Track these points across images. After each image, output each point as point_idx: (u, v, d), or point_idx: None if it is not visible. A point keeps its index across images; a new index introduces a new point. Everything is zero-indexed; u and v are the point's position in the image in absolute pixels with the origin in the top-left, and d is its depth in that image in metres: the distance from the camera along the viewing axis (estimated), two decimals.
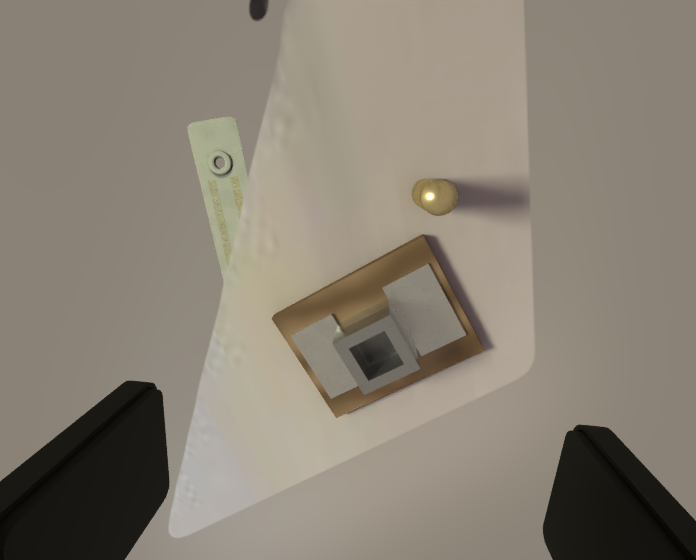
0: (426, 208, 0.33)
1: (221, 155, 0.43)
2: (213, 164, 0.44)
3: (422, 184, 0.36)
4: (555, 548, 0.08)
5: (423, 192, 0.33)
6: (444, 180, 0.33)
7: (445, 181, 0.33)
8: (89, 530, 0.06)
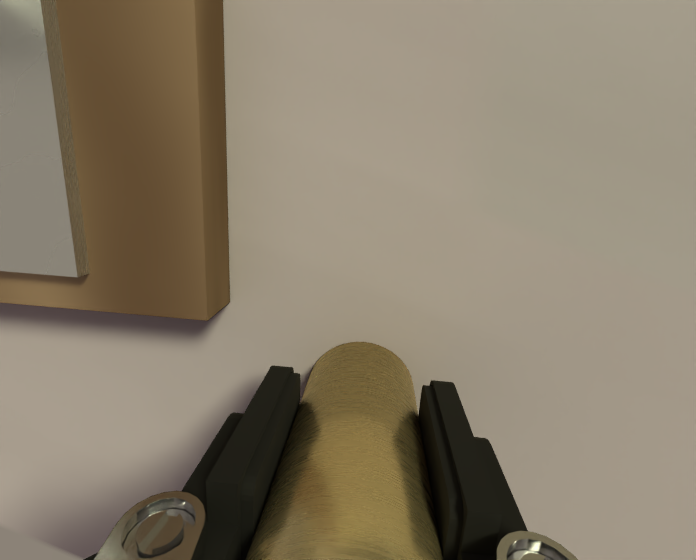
0: None
1: None
2: None
3: None
4: None
5: None
6: None
7: None
8: None
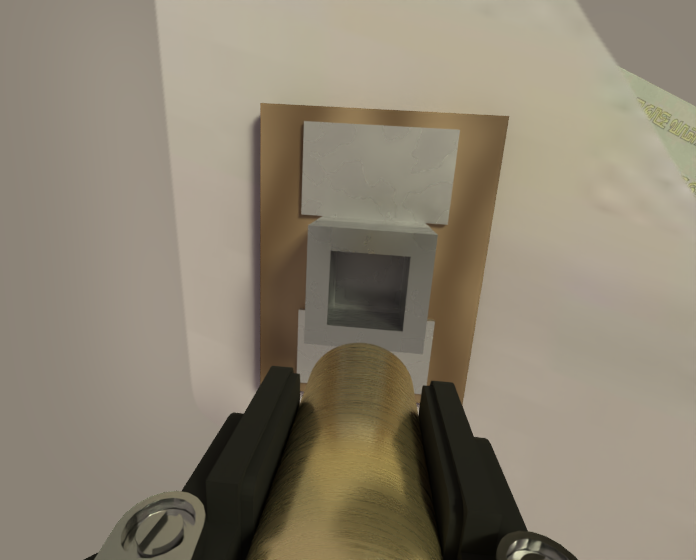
0: None
1: None
2: None
3: None
4: None
5: None
6: None
7: None
8: None
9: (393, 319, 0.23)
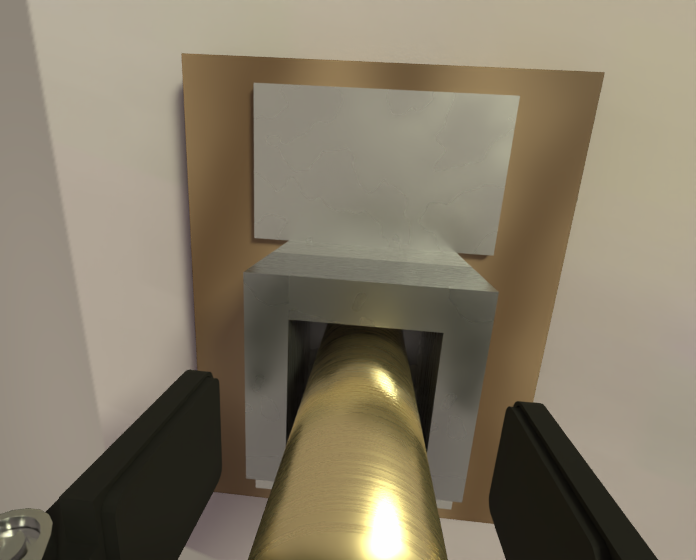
0: (331, 541, 0.05)
1: None
2: None
3: (425, 448, 0.08)
4: (496, 515, 0.09)
5: None
6: None
7: None
8: (168, 503, 0.07)
9: None
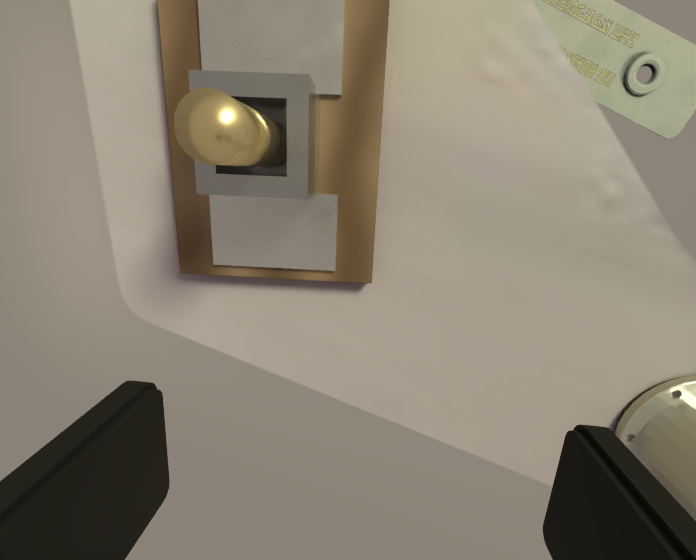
0: (201, 91, 0.16)
1: (651, 84, 0.27)
2: (651, 62, 0.27)
3: (262, 125, 0.20)
4: (555, 548, 0.08)
5: (233, 103, 0.16)
6: (234, 152, 0.17)
7: (231, 153, 0.17)
8: (89, 530, 0.06)
9: None
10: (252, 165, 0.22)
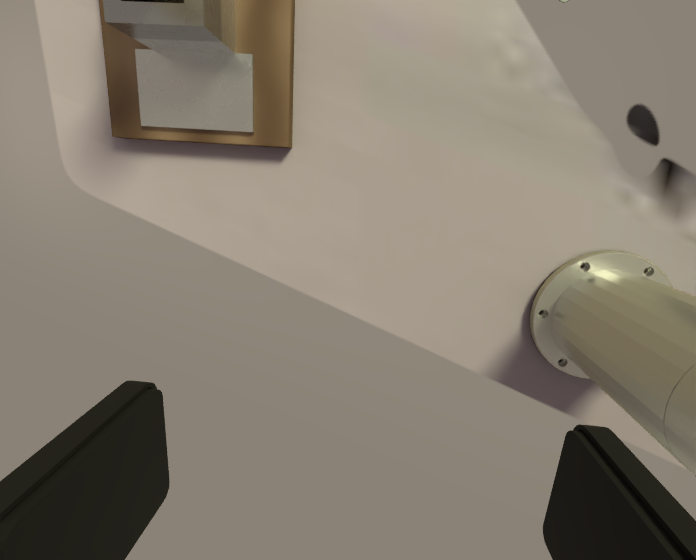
0: None
1: None
2: None
3: None
4: (555, 548, 0.08)
5: None
6: None
7: None
8: (89, 530, 0.06)
9: None
10: None
